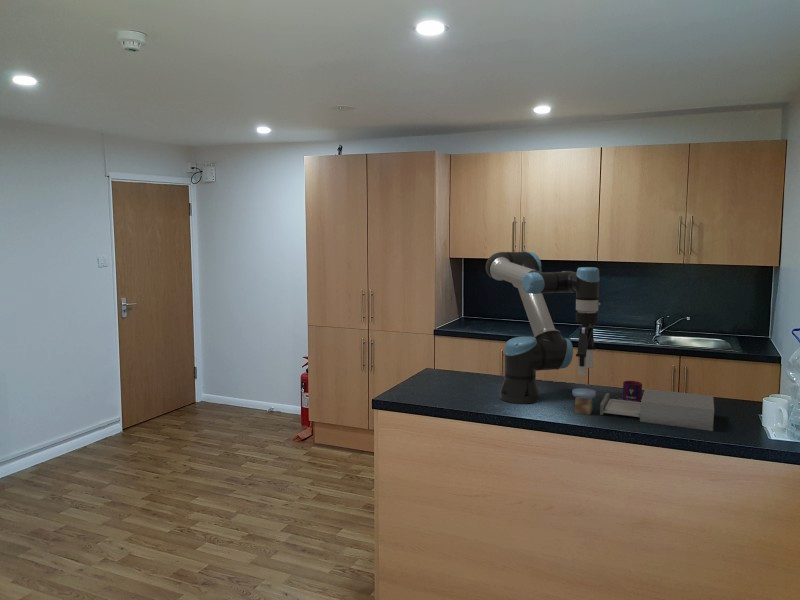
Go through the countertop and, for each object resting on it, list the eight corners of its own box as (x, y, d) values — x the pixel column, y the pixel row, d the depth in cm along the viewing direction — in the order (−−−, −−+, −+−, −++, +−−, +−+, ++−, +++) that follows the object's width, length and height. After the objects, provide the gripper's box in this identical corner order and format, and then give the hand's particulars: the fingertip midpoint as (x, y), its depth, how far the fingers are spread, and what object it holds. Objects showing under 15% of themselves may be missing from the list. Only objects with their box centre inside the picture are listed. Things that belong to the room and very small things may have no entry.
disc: (570, 396, 213) (570, 392, 213) (574, 391, 220) (574, 387, 220) (593, 399, 209) (594, 395, 209) (597, 394, 217) (597, 389, 216)
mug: (621, 401, 229) (622, 383, 228) (624, 394, 238) (625, 378, 237) (640, 403, 226) (641, 385, 225) (642, 397, 234) (643, 379, 234)
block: (575, 412, 214) (575, 396, 214) (577, 409, 219) (578, 392, 218) (589, 414, 212) (590, 398, 211) (591, 410, 217) (592, 394, 216)
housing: (639, 421, 204) (640, 401, 204) (644, 407, 220) (645, 388, 220) (712, 431, 195) (714, 409, 194) (711, 415, 211) (713, 396, 210)
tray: (599, 414, 211) (600, 404, 211) (606, 403, 225) (606, 393, 225) (654, 421, 203) (654, 410, 203) (657, 409, 218) (657, 398, 217)
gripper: (592, 316, 198) (590, 379, 201) (603, 308, 221) (601, 365, 223) (569, 315, 202) (567, 377, 204) (582, 307, 224) (580, 363, 226)
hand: (585, 371), depth 213 cm, fingers open, 13 cm apart
